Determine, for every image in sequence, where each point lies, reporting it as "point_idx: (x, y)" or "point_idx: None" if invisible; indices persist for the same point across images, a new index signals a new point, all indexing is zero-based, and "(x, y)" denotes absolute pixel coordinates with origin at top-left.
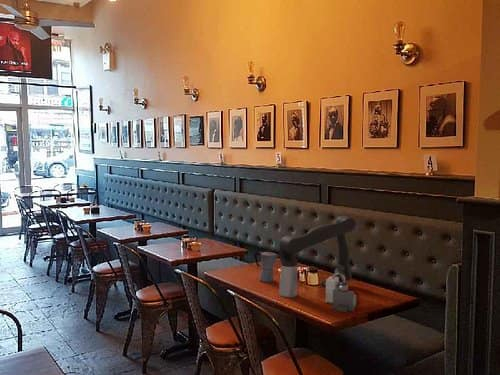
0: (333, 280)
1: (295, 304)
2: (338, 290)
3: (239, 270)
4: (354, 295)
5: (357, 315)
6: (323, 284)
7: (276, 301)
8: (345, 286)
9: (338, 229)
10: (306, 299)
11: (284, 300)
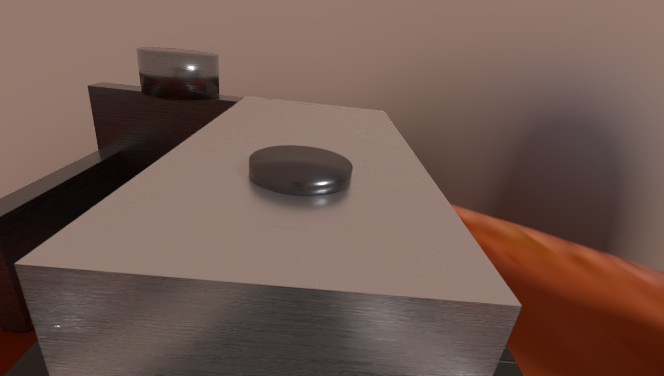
0: (276, 109)
1: (510, 252)
2: (223, 96)
3: None
4: (18, 198)
5: None
6: (505, 351)
7: (647, 270)
8: (162, 49)
9: None
10: (554, 373)
11: (643, 297)
